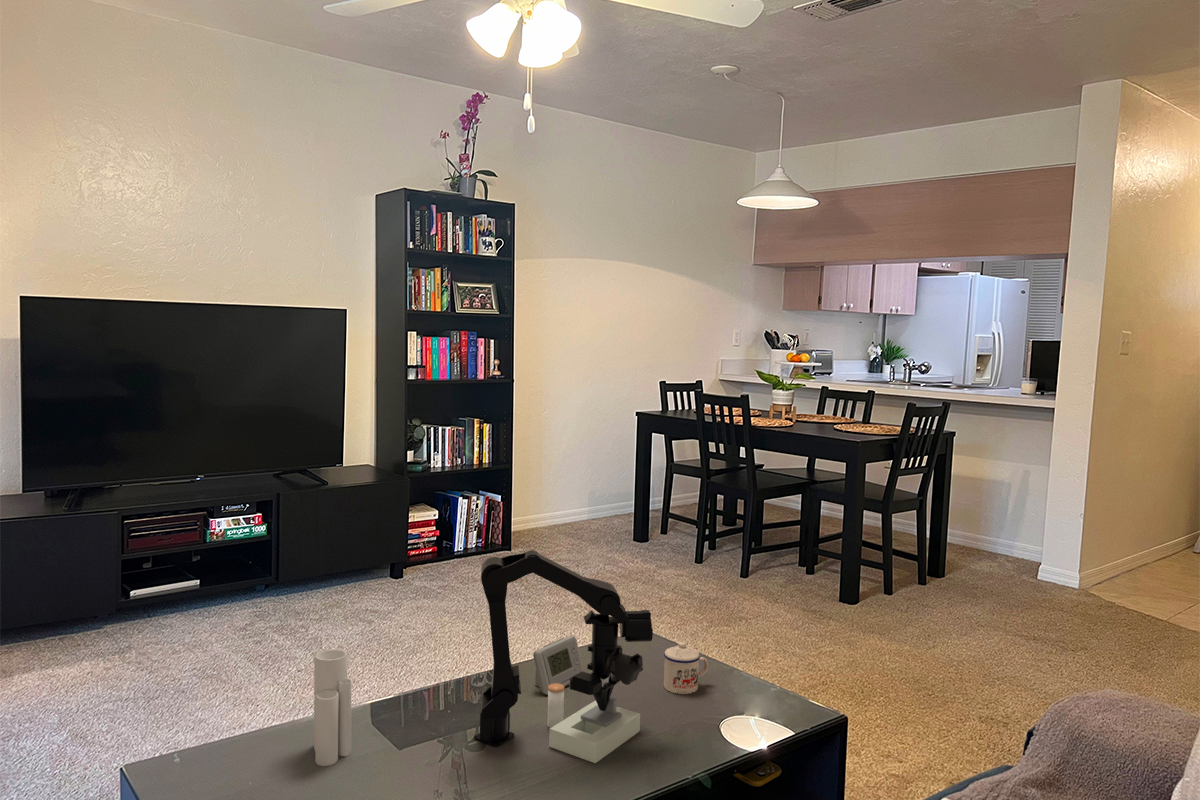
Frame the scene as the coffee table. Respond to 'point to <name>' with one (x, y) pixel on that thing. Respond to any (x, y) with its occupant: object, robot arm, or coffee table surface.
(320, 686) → the vase
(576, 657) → the digital clock
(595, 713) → the shutter
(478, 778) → the coffee table surface
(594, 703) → the socket block
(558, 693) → the plug
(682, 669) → the teacup with lid
